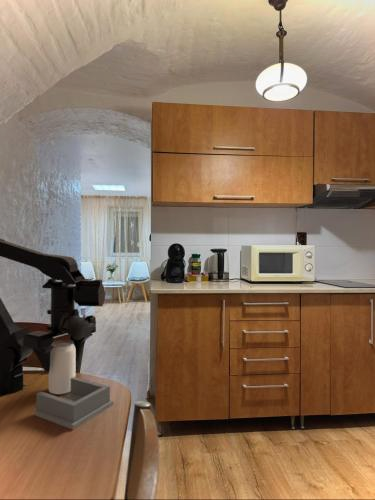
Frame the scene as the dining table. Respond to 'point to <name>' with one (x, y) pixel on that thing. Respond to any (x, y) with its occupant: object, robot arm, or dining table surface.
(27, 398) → the dining table surface
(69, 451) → the dining table surface
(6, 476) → the dining table surface
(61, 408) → the u rest
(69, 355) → the can
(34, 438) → the dining table surface
